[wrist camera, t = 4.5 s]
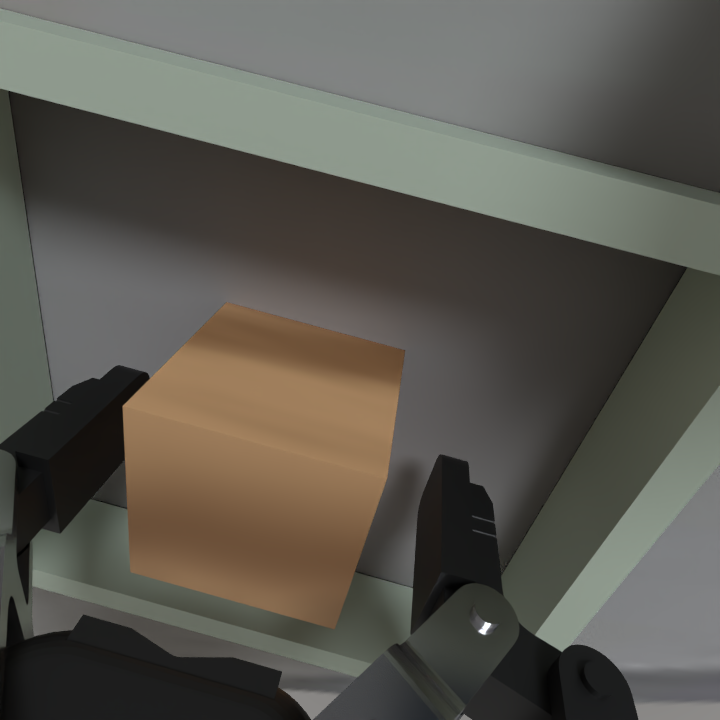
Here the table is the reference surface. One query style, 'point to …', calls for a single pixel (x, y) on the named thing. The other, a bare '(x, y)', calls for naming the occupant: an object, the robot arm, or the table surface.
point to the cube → (261, 462)
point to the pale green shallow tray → (432, 182)
